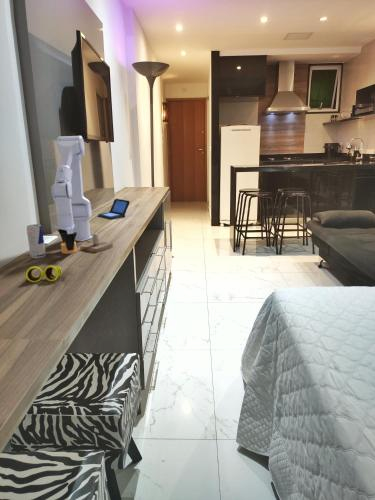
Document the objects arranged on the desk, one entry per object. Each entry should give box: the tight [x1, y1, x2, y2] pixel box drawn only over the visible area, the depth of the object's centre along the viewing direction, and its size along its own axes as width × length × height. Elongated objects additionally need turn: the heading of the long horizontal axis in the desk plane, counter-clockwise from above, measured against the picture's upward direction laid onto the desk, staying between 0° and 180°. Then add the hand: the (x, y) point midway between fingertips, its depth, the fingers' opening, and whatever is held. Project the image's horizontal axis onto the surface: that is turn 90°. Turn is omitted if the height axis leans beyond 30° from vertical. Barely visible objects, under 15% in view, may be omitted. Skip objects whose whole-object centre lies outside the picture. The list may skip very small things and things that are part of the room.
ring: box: [60, 241, 78, 255], centre depth 143 cm, size 6×6×4 cm
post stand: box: [79, 233, 114, 253], centre depth 146 cm, size 9×9×6 cm
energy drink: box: [26, 223, 47, 259], centre depth 136 cm, size 5×5×12 cm
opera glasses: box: [25, 265, 63, 283], centre depth 114 cm, size 10×5×5 cm, turn 96°
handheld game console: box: [97, 198, 131, 220], centre depth 212 cm, size 16×13×9 cm
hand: (68, 248), depth 143 cm, fingers open, 6 cm apart
